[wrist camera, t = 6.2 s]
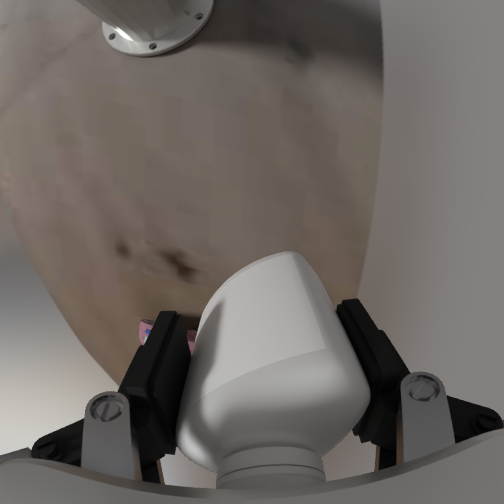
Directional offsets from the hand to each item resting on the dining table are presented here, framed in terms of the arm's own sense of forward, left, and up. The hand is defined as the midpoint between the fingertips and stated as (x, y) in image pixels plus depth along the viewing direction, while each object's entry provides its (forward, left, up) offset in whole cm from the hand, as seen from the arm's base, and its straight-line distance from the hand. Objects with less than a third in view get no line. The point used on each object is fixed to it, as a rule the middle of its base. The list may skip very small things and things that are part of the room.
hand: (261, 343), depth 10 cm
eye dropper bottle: (0, 0, -4) cm, 4 cm away
